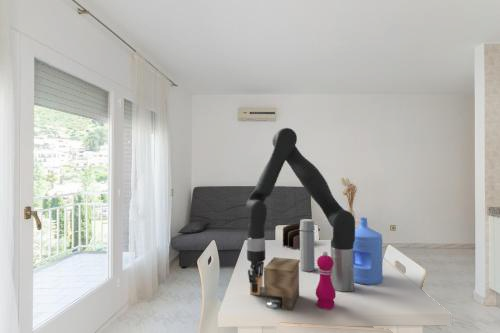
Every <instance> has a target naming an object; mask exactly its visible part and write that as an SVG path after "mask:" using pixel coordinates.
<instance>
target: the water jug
mask: <svg viewBox="0 0 500 333" xmlns="http://www.w3.org/2000/svg"><path fill="white" fill-rule="evenodd" d="M359 220H360V221H359V226H358V227H355V241H354V244H353V261H354V284H360V285H365V286H366V285H368V286H370V285H371V286H372V285H380V284H381V283H382V282H383V281H384V275H383V261H384V260H383V235H382V233H380V232H378V231H376V230H374V229H372V228H370V227H368V217H360V218H359Z"/></svg>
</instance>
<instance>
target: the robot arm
mask: <svg viewBox="0 0 500 333" xmlns="http://www.w3.org/2000/svg"><path fill="white" fill-rule="evenodd" d="M297 140H298V137H297V133H296V132H295V130H293V129H292V128H290V127H289V128H288V127H284V128H280V129H279V130H278V131H277V132H275V134H274V135H273V137H272V145H273V151H272V153H271V155H270V158H269V160H268V162H267V163H266V165H265V166H264V169H263V170H262V172H261V174H260V176H259V178H258V181H257V182H256V186H255V188H254V190H253V191H252V192H251V194H250V195H249V197H248V199H247V201H246V204H245V211H246V213H247V214H248V215H249V216H250V218H249V220H250V222H249V223H248V224H247V238H246V239H247V241H246V259H247V261H248V262H250V267H249V269H247V274H248V275H247V276H248V282H249V284H250V283H252V292H253V293H257V283H258V277H259V275H262V277H264V267H265V262H264V261H265V260H266V238H265V236H266V234H265V225H266V220H267V216H268V215H267V213H268V209H267V205H266V203H265V201H266V199H267V198H268V197H270V196H271V195H272V193H273V191H274V187H275V186H276V183H277V181H278V178H279V176H280V173H281V171H282V169H283V167H284V164H285V162H287V164H288V165H289V167H290V169H291V170H292V171H293V173H294V175H295V176H296V177H297V178H298V180H299V181H300V183H301V185H302V186H303V188H304V189H305V190H306V192H307V193H308V194H309V196H310V197H311V198H312V199H313V200H314V202H316V205H318V206H319V208H320V209H321V211H322V212H323V214H324V216H325V217H326V219H327V221H328V223H329V224H330V226H331V227H332V239H331V240H330V257H331V258H332V259H333V262H334V265H333V267H332V268H331V269H332V274H331V282H332V285H333V287H334V289H335V291H338V292H355V282H354V261H353V244H354V241H355V229H356V219H355V216H354V215H353V213H351V212H350V211H348V210H346V209H344V208H343V207H342V206H341V205H340V204H339V203H338V201H337V200H336V199H335V197H334V195H333V193H332V191H331V190H330V187H329V184H328V182H327V180H326V179H325V176H323V174H322V173H321V172H320V170H319V169H318V167H316V166H315V165H314V164H313V163H312V162H311V161H310V160H308V159H307V158H306V157H305V156H304V155H303V154H302V153H301V152H300V150H299V149H298V147H297V145H296V144H297ZM255 274H257V275H255ZM253 279H254V280H253Z"/></svg>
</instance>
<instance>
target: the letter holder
mask: <svg viewBox="0 0 500 333" xmlns="http://www.w3.org/2000/svg"><path fill="white" fill-rule="evenodd" d="M299 229H300V223H292V224H288V225H286V226H283V228H282V248H285V247H286V249H289V248H290V249H291V250H297V248H298V249H300V231H301V230H299ZM290 249H289V250H290Z"/></svg>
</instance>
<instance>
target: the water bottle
mask: <svg viewBox="0 0 500 333" xmlns="http://www.w3.org/2000/svg"><path fill="white" fill-rule="evenodd" d="M299 222H300V223H299V224H300V229H299V230H301V231H300V248H299V255H300V256H299V260H300V262H299V269H300V270H301V271H303V272H307V273H309V272H311V273H312V272H313V271H315V268H316V267H315V264H316V263H315V231H316V228H315V221H314V219H311V218H309V219H307V218H303V219H301V220H300V221H299Z"/></svg>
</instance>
